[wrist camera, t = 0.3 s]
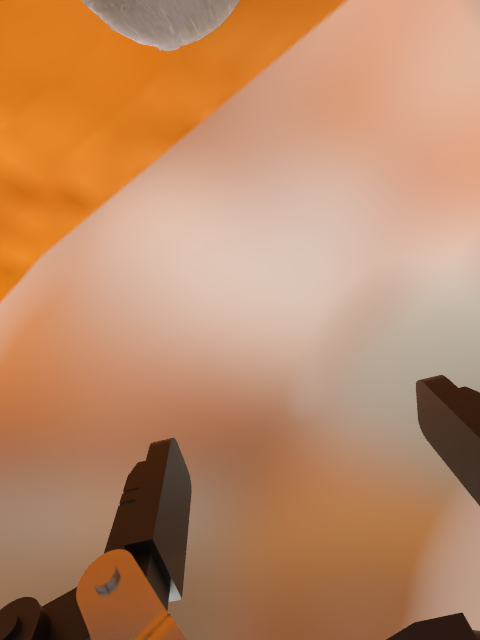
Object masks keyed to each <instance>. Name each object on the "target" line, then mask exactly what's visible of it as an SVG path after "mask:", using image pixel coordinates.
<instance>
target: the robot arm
mask: <svg viewBox="0 0 480 640" xmlns="http://www.w3.org/2000/svg"><path fill="white" fill-rule="evenodd" d="M416 393H417V394H416V395H417V410H418V421H419V425H420V428H421V430H422V433H423V435H424V436H425V438H426V439H427V441H428V442H429V443H430V444H431V446H432V447H433V448H434V449H435V451H436V452H437V453H438V454H439V456H440V457H441V458H442V459H443V461H444V462H445V463H446V464H447V466H448V467H449V468H450V469H451V471H452V472H453V473H454V474H455V476H456V477H457V478H458V479H459V481H460V482H461V483H462V484H463V486H464V487H465V488H466V489H467V491H468V492H469V493H470V494H471V496H472V497H473V498H474V499H475V500H476V502H477V503H478V504H479V506H480V393H479V392H477V391H475V390H472V389H470V388H468V387H461V388H458V387H457V386H456V385H454V384H453V383H452V382H451V381H450V380H449V379H447V378H446V377H445V376H443V375H439V376H435V377H430V378H426V379H422V380H418V381H417V382H416ZM123 492H124V493H123V494H122V497H121V500H120V506H118V510H117V513H116V516H115V519H114V522H113V526H112V529H111V532H110V536H109V539H108V542H107V545H106V548H105V552H104V554H103V555H101V556H100V557H98V558H97V559H96V560H95V561H94V562H93V563H92V564H91V565H90V566H89V567H88V568H87V569H86V571H85V572H84V574H83V575H82V577H81V579H80V581H79V584H78V586H77V587H76V588H74V589H73V590H71V591H69V592H67V593H66V594H64V595H62V596H60V597H58V598H57V599H55V600H53V601H51V602H49V603H48V604H46V605H44V606H42V607H41V605H40V604H39V603H38V601H37V600H36V599H34V598H32V597H23V598H20V599H17V600H15V601H13V602H11V603H9V604H8V605H6V606H5V607H3V608H2V609H1V610H0V640H186V639H185V637H184V635H183V634H182V632H181V631H180V629H179V627H178V626H177V624H176V623H175V621H174V620H173V618H172V617H171V615H170V614H168V612H167V609H168V602H171V601H175V600H180V599H182V590H183V580H184V569H185V558H186V547H187V546H186V545H187V535H188V524H189V513H190V502H191V480H190V475H189V472H188V469H187V467H186V464H185V462H184V459H183V457H182V454H181V451H180V449H179V446H178V444H177V441H176V440H175V438H170V439H166V440H162V441H158V442H153V443H151V445H150V447H149V451H148V454H147V458H146V461H143V462H139V463H137V464H136V466H135V467H134V468H133V470H132V471H131V473H130V474H129V475H128V477H127V480H126V484H125V487H124V490H123ZM387 640H480V631H475V630H472V629H471V627H470V625H469V624H468V622H467V620H466V618H465V616H464V615H463V613H458V614H453V615H448V616H443V617H439V618H434V619H429V620H424V621H420V622H415V623H413V624H411V625H410V626H408V627H407V628H405V629H403V630H402V631H400V632H398V633H396V634H395V635H393V636H392V637H390V638H388V639H387Z"/></svg>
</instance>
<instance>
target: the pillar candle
mask: <svg viewBox="0 0 480 640" xmlns="http://www.w3.org/2000/svg"><path fill="white" fill-rule="evenodd" d="M82 1H83V2H84V4H85V5H86V6H87V8H89V9H90V10H92V11H93V12H94V13H95V14H97V15H98V16H99V17H100V18H101V19H102V20H103V21H104V22H105V23H107V24H108V25H109V26H110V28H111V29H112V30H114V31H116V32H118V33H120V34H122V35H124V36H125V37H127V38H130V39H132V40H134V41H136V42H138V43H140V44H144V45H149V46H156V47H157V48H158V49H159V51H160V50H165V51H172V50H176V49H178V48H180V46H182V45H184V46H185V45H188V44H189V43H192V42H195V41H197V40H200V39H202V38H203V37H205V36H206V35H208V34H210V33H211V32H212V31H214V30H215V29H217V28H218V27H219V26H220V25H221V24H222V23H223V22H224V21H225V20H226V19H227V18H228V16H229V15H230V14H231V13H232V11H233V10H234V9H235V7H236V6H237V4H238V3H239V1H240V0H82Z"/></svg>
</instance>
